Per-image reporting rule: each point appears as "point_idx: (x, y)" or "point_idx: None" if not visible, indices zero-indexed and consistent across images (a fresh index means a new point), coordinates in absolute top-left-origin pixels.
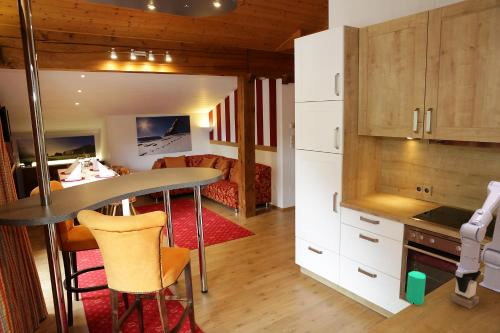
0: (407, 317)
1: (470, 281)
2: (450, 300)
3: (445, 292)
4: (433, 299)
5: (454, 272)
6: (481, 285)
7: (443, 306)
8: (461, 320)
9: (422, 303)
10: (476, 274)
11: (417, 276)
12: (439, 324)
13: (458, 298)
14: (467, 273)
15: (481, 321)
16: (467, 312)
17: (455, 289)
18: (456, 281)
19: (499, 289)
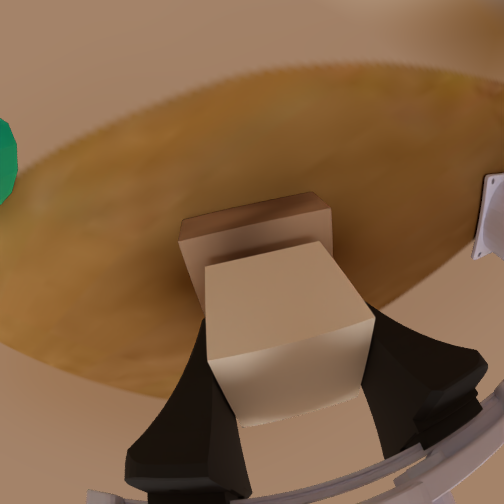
0: None
1: (319, 394)
2: (182, 222)
3: (258, 122)
4: (82, 175)
5: (130, 480)
6: (484, 188)
7: (86, 258)
8: (98, 354)
9: (2, 201)
10: (384, 443)
11: None
12: (12, 336)
13: (195, 287)
14: (395, 390)
15: (175, 378)
16: (172, 332)
17: (205, 284)
18: (208, 347)
19: (486, 246)
